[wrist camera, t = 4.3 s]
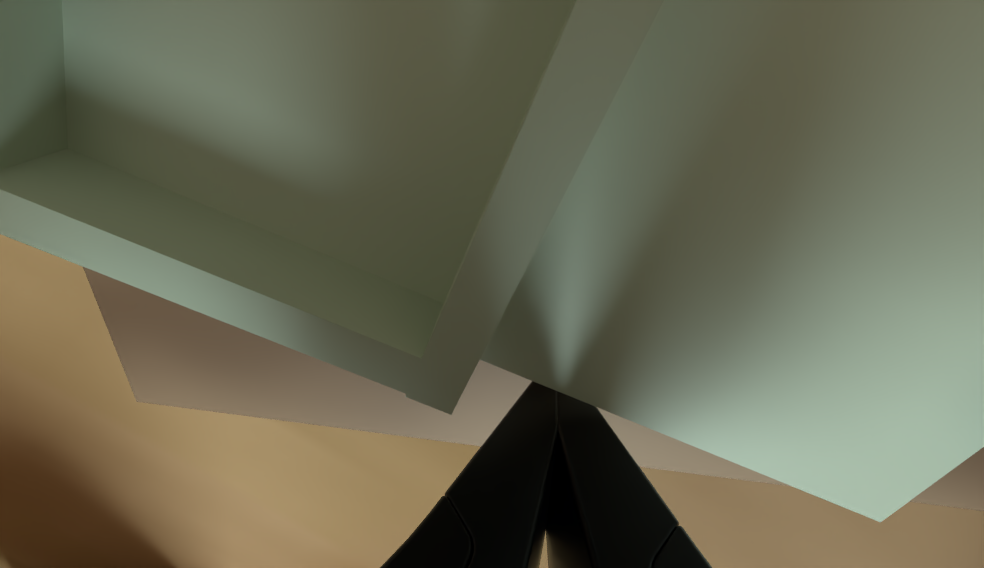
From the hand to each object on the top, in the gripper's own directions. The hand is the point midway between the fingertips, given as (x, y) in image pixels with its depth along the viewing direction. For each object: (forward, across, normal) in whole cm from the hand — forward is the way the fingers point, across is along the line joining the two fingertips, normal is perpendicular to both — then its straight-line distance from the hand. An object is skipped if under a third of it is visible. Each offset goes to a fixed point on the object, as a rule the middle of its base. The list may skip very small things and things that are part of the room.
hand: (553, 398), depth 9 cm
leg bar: (+1, 0, -5) cm, 5 cm away
